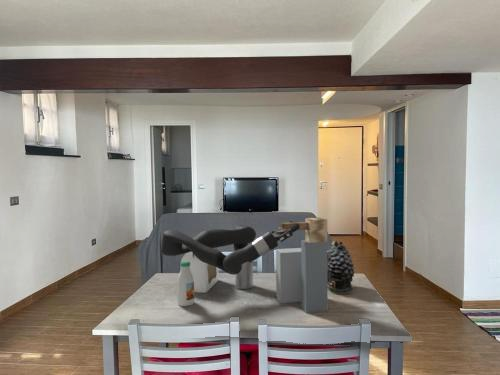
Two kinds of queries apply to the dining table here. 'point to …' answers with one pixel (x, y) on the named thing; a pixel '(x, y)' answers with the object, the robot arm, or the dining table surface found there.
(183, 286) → the milk bottle
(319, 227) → the oak block with handle
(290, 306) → the dining table surface
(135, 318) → the dining table surface
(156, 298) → the dining table surface
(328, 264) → the dark fir cone
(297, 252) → the slate shelf stand
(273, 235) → the robot arm
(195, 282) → the gable box
